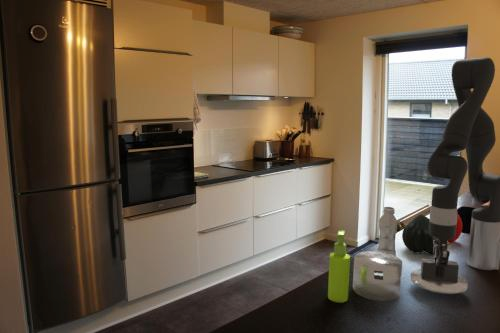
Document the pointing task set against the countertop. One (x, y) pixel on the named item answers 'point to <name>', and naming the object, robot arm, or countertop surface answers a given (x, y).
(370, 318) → the countertop surface
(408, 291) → the countertop surface
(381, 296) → the cooker pot
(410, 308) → the countertop surface
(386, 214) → the plastic bottle
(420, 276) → the cooker lid
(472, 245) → the robot arm
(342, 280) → the soap dispenser
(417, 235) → the squash
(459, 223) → the tomato
